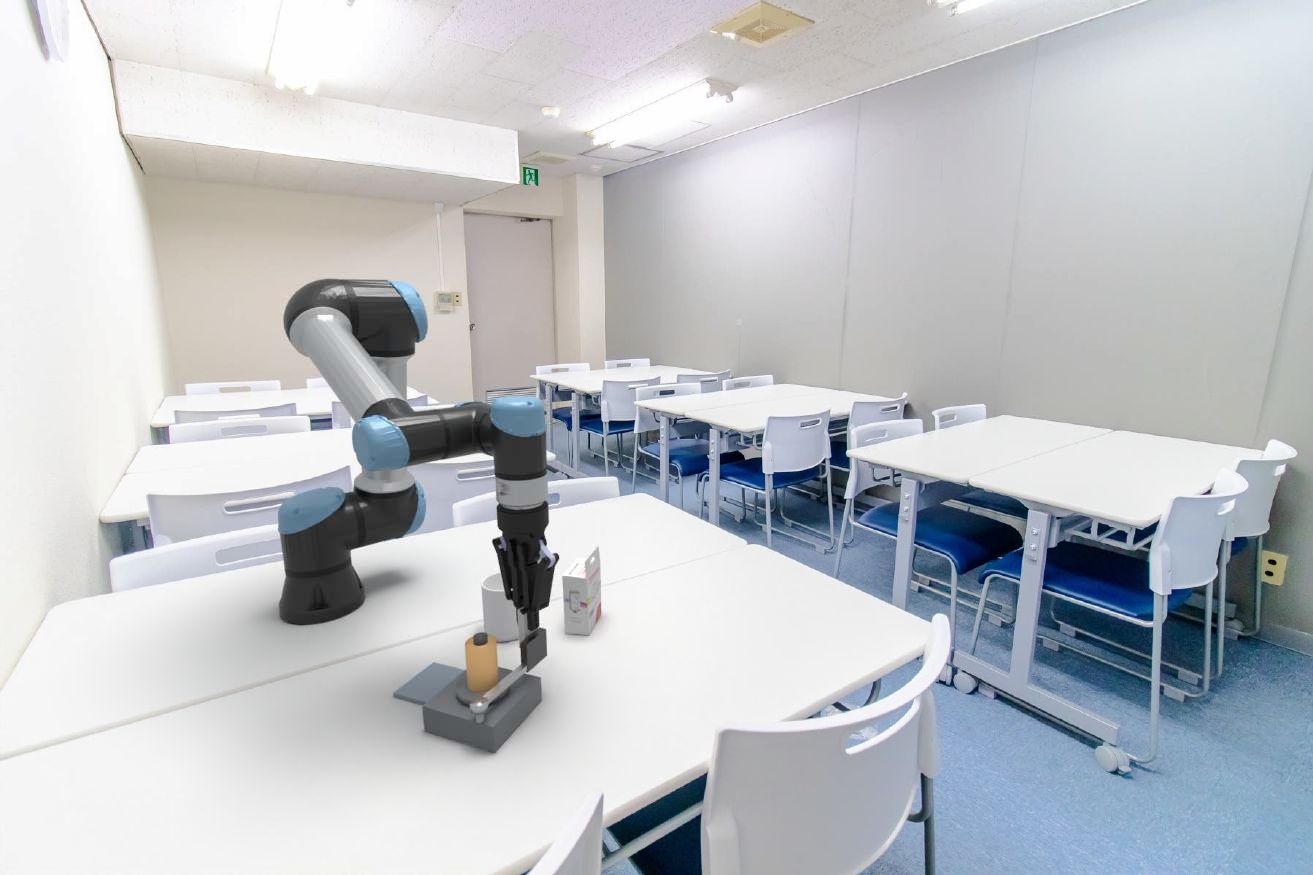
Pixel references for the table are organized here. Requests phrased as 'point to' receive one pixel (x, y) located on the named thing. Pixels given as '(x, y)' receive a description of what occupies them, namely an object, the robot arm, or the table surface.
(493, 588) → the cup
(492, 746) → the socket block
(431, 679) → the mat
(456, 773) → the table surface
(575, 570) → the ink cartridge box
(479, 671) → the plug
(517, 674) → the grey lever
